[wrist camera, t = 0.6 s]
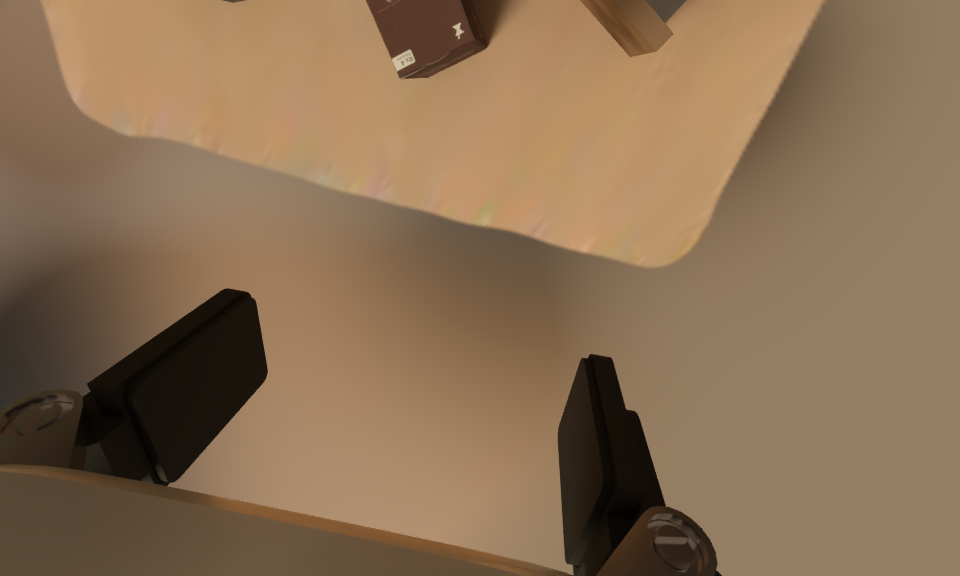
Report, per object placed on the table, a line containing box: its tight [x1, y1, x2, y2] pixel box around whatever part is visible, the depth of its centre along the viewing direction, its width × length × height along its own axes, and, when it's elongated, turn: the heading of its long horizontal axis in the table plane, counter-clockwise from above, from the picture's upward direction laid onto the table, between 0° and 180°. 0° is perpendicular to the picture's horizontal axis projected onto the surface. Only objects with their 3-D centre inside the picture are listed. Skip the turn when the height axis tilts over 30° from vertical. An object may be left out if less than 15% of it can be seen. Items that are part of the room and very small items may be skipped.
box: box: [366, 0, 487, 79], centre depth 29 cm, size 6×6×7 cm
